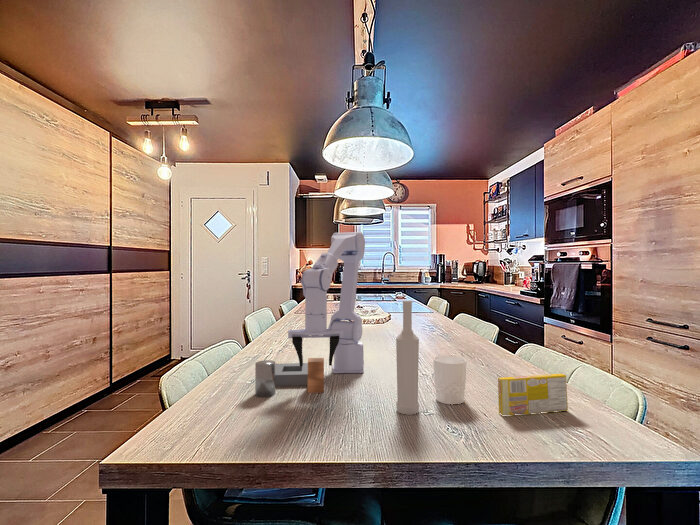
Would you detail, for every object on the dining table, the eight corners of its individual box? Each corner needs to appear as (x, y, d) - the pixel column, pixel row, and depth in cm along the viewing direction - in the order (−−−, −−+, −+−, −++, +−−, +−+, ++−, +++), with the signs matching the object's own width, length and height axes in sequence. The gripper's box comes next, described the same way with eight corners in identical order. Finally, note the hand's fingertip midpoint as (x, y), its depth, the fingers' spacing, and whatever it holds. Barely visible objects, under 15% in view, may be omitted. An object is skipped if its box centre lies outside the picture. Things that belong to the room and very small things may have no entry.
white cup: (468, 397, 92) (468, 357, 92) (464, 408, 85) (464, 364, 85) (437, 392, 95) (436, 354, 95) (430, 402, 88) (430, 361, 88)
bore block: (313, 372, 113) (313, 362, 113) (312, 385, 101) (312, 374, 101) (274, 373, 112) (274, 363, 112) (268, 386, 100) (268, 375, 101)
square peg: (323, 387, 100) (323, 357, 100) (323, 392, 96) (323, 361, 96) (308, 387, 99) (308, 358, 100) (307, 392, 95) (307, 362, 95)
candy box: (561, 408, 85) (561, 372, 85) (568, 412, 83) (568, 375, 83) (497, 413, 82) (497, 376, 82) (503, 417, 80) (502, 379, 80)
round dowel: (276, 390, 97) (276, 360, 97) (273, 397, 92) (273, 365, 92) (257, 390, 97) (257, 360, 97) (253, 397, 92) (253, 365, 92)
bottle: (420, 408, 85) (420, 300, 85) (417, 416, 80) (416, 302, 80) (398, 405, 86) (398, 299, 87) (393, 413, 82) (393, 301, 82)
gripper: (287, 315, 93) (286, 369, 93) (344, 315, 94) (343, 368, 94) (289, 312, 100) (289, 362, 100) (342, 312, 101) (342, 361, 101)
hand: (315, 364), depth 98 cm, fingers open, 7 cm apart
